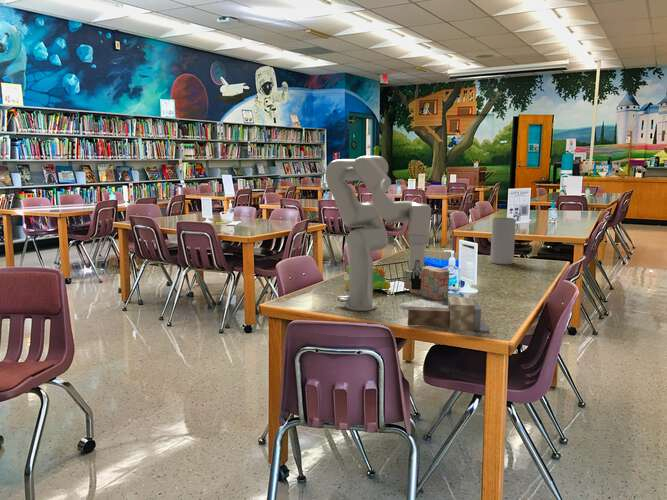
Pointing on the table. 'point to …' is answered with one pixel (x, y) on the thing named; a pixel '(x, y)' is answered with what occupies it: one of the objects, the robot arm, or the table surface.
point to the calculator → (422, 304)
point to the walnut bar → (429, 316)
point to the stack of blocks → (430, 283)
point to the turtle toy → (375, 279)
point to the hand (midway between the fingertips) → (415, 285)
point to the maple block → (461, 313)
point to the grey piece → (478, 319)
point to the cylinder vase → (502, 240)
